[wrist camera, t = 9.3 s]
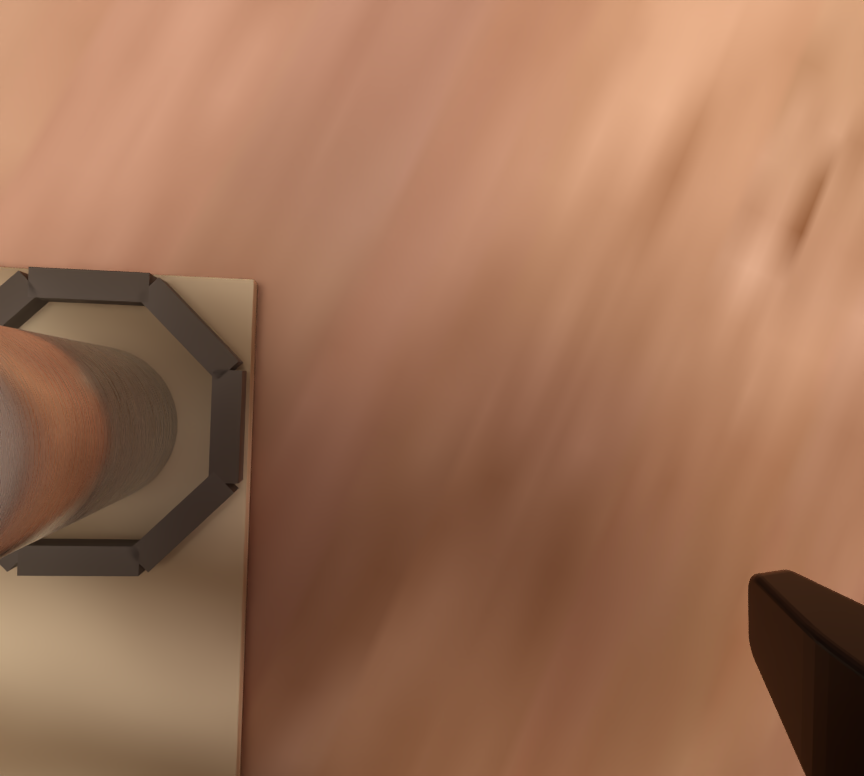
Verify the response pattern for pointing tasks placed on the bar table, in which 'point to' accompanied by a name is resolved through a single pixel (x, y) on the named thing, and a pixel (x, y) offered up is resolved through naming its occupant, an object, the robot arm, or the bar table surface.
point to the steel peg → (74, 431)
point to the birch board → (138, 548)
